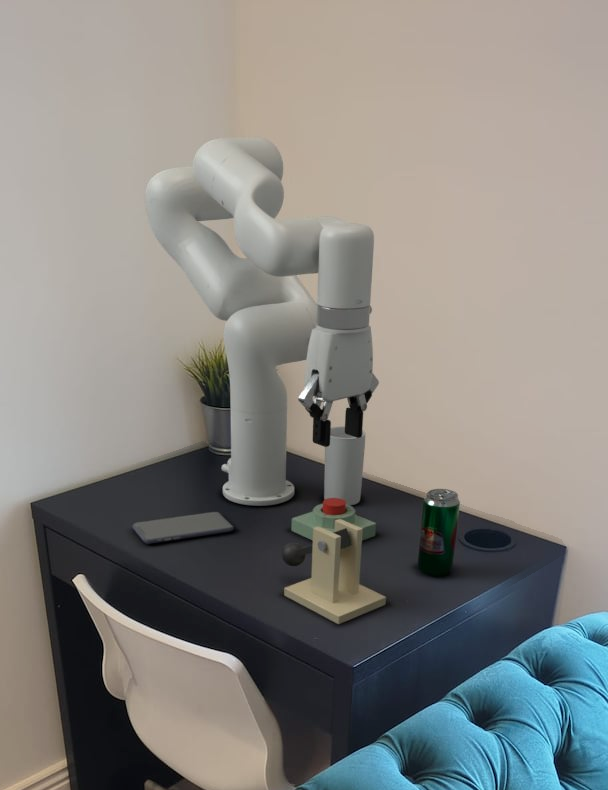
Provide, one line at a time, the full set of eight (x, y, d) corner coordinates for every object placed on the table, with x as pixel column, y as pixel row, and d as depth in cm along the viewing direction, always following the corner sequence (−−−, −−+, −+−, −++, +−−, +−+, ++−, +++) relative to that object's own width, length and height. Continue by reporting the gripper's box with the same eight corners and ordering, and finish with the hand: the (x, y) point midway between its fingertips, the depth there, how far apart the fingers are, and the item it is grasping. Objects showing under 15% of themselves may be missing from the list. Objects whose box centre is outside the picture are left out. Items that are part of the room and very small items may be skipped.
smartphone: (235, 527, 155) (144, 540, 150) (235, 532, 155) (145, 546, 150) (218, 510, 161) (131, 522, 156) (218, 516, 161) (131, 528, 156)
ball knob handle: (281, 570, 139) (274, 548, 139) (299, 564, 141) (291, 542, 141) (338, 553, 128) (330, 529, 128) (356, 547, 130) (348, 523, 130)
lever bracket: (283, 595, 136) (285, 524, 131) (330, 577, 141) (333, 508, 136) (338, 624, 129) (342, 550, 123) (385, 604, 134) (391, 532, 128)
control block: (291, 530, 156) (291, 507, 154) (331, 517, 161) (332, 494, 159) (334, 550, 149) (335, 526, 147) (375, 535, 154) (376, 512, 152)
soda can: (410, 570, 143) (417, 493, 137) (430, 560, 146) (438, 484, 140) (438, 581, 140) (446, 503, 134) (458, 570, 143) (467, 493, 137)
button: (317, 511, 153) (318, 501, 153) (334, 506, 155) (334, 496, 155) (333, 518, 151) (334, 507, 150) (350, 512, 153) (350, 502, 152)
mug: (367, 505, 166) (371, 436, 160) (329, 508, 164) (332, 439, 158) (348, 485, 174) (351, 419, 168) (312, 488, 173) (314, 422, 167)
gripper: (366, 306, 146) (359, 423, 155) (280, 321, 136) (278, 445, 145) (403, 314, 141) (394, 434, 150) (316, 330, 131) (312, 458, 140)
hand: (337, 438), depth 147 cm, fingers open, 6 cm apart
